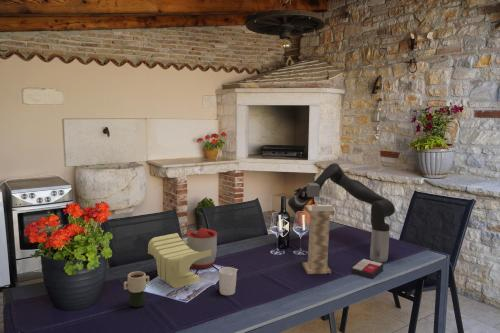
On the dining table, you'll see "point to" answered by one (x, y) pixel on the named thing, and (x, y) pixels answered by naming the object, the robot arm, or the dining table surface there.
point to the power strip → (322, 207)
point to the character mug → (136, 288)
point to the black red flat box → (367, 268)
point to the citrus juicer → (203, 246)
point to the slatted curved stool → (175, 259)
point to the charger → (312, 189)
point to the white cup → (227, 280)
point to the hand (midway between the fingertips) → (309, 187)
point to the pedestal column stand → (318, 241)
